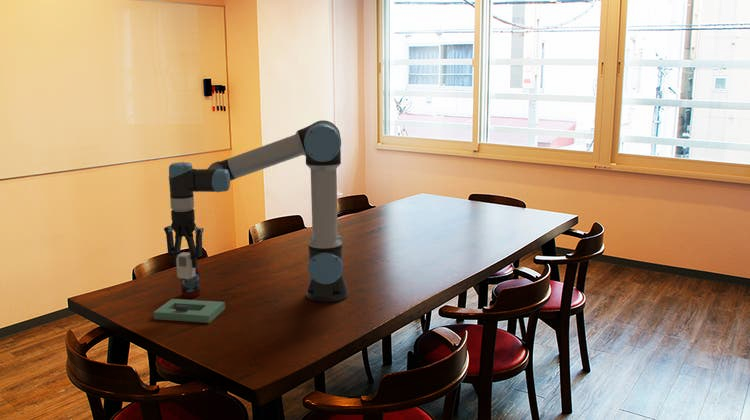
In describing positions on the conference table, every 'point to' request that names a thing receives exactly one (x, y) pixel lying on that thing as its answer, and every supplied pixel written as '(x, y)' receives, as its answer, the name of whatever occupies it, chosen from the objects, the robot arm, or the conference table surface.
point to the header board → (189, 310)
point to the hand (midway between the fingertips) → (186, 275)
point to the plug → (183, 265)
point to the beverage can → (191, 285)
